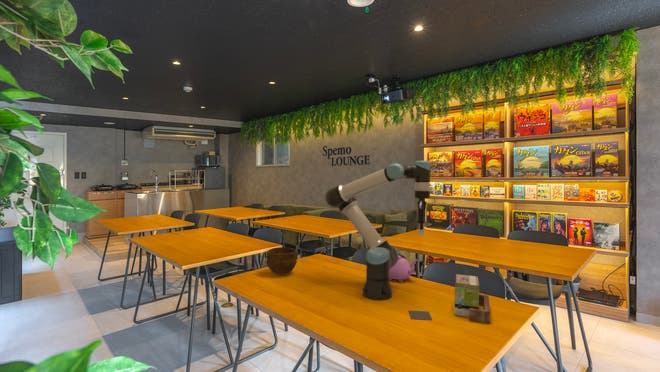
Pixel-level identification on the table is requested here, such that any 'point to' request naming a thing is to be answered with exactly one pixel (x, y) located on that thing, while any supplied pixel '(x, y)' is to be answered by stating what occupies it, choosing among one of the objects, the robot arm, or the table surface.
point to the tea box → (466, 294)
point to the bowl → (281, 260)
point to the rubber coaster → (420, 315)
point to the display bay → (481, 311)
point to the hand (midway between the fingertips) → (421, 235)
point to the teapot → (401, 270)
